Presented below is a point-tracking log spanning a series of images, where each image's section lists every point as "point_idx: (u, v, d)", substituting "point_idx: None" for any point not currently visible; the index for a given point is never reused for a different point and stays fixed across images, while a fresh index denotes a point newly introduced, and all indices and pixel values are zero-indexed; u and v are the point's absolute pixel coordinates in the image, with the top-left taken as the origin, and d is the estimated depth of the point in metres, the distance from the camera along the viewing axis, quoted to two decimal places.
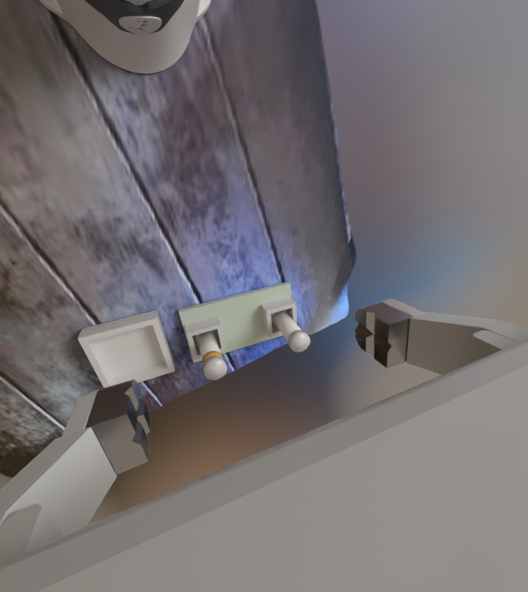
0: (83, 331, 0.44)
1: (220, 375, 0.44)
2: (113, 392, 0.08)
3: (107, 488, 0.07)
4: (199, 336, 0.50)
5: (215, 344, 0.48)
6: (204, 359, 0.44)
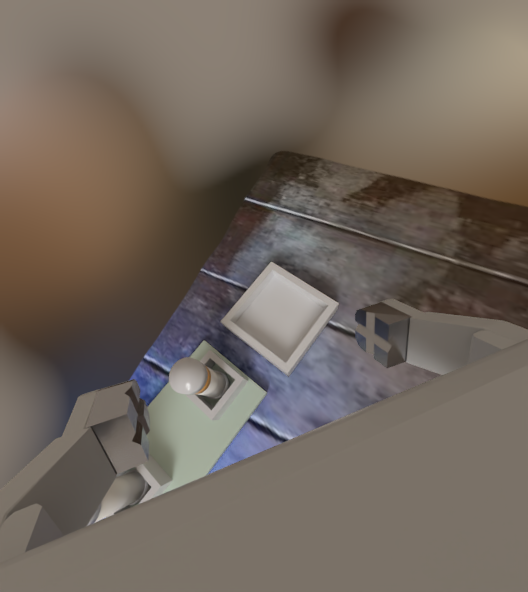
0: (335, 310, 0.39)
1: (174, 372, 0.28)
2: (113, 392, 0.08)
3: (107, 488, 0.07)
4: (224, 382, 0.36)
5: (203, 394, 0.32)
6: (208, 374, 0.30)
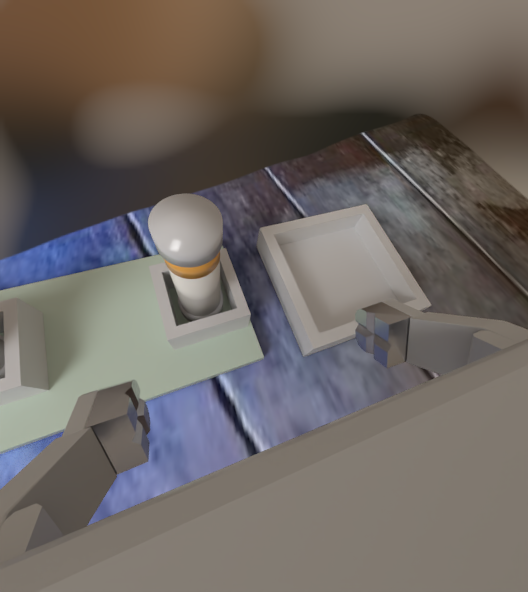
0: None
1: (169, 204, 0.14)
2: (113, 392, 0.08)
3: (107, 488, 0.07)
4: (217, 303, 0.22)
5: (182, 290, 0.18)
6: (217, 257, 0.16)
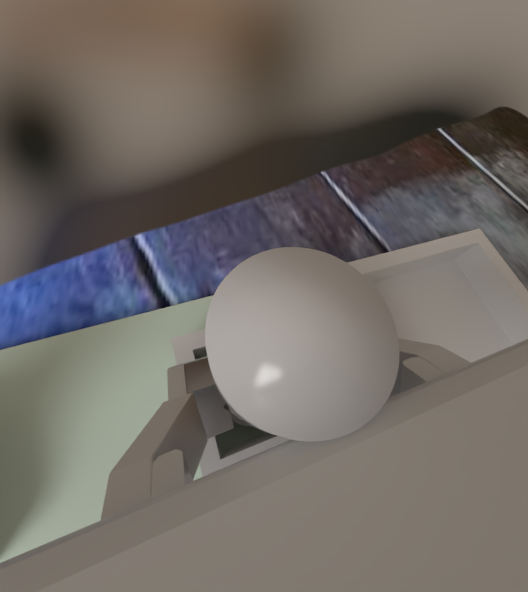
0: None
1: (255, 279, 0.05)
2: (200, 364, 0.08)
3: (202, 450, 0.08)
4: None
5: None
6: None
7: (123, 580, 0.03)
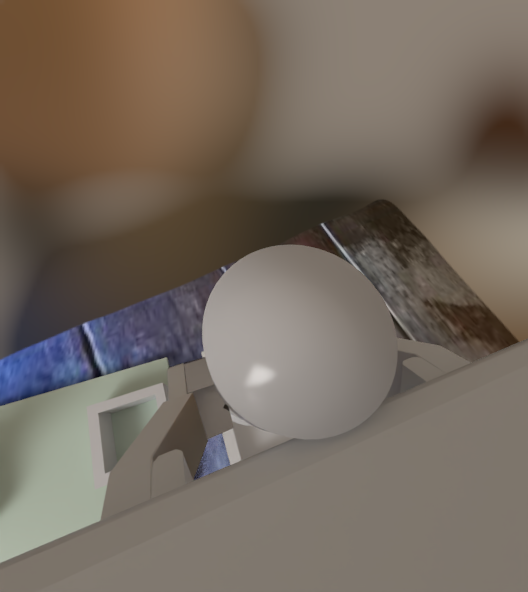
0: None
1: (253, 278, 0.05)
2: (200, 364, 0.08)
3: (202, 450, 0.08)
4: None
5: None
6: None
7: (123, 580, 0.03)
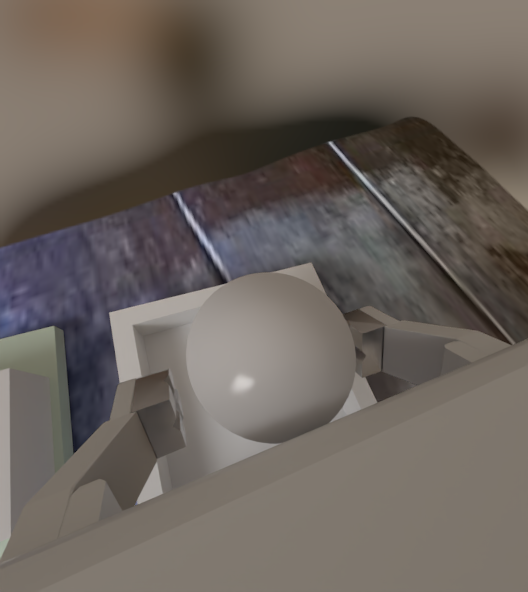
0: None
1: (231, 303, 0.06)
2: (152, 380, 0.08)
3: (149, 471, 0.07)
4: None
5: None
6: None
7: (123, 580, 0.03)
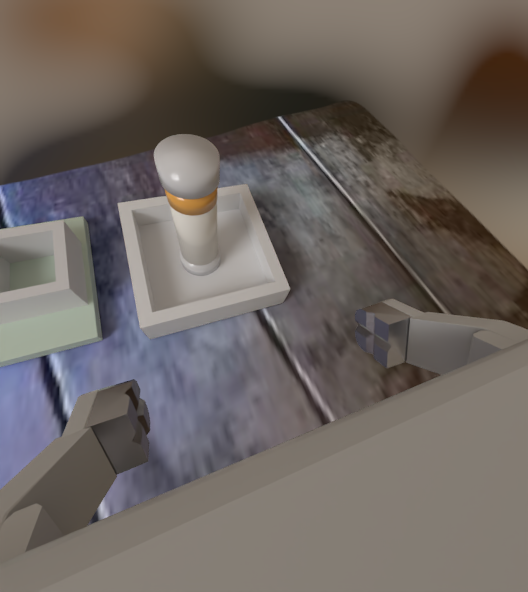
0: (280, 299, 0.24)
1: (172, 141, 0.16)
2: (113, 392, 0.08)
3: (107, 488, 0.07)
4: (215, 254, 0.23)
5: (182, 232, 0.20)
6: (214, 195, 0.17)
7: (123, 580, 0.03)
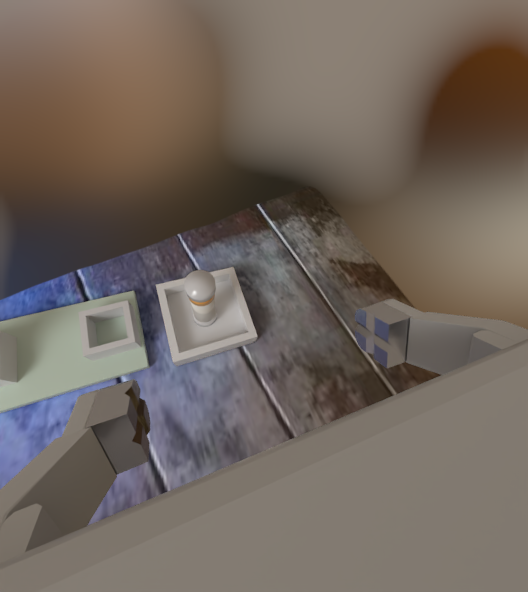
0: (253, 340, 0.41)
1: (192, 275, 0.32)
2: (113, 392, 0.08)
3: (107, 488, 0.07)
4: (213, 315, 0.40)
5: (195, 310, 0.36)
6: (213, 296, 0.34)
7: (123, 580, 0.03)
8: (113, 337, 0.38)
